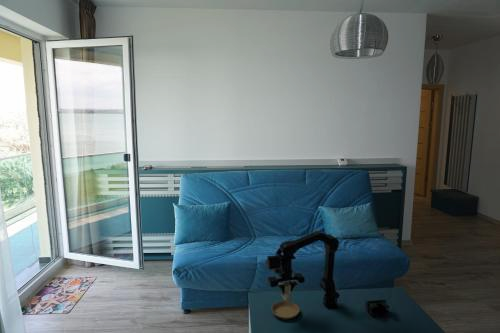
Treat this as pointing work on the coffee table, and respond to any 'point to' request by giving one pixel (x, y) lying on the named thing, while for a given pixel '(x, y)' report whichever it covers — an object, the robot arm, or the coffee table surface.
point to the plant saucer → (285, 309)
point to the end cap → (377, 308)
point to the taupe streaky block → (287, 291)
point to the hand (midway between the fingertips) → (286, 295)
